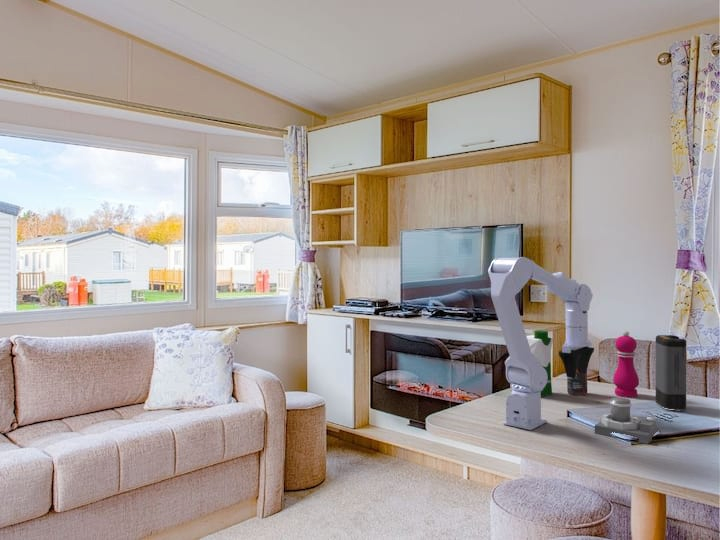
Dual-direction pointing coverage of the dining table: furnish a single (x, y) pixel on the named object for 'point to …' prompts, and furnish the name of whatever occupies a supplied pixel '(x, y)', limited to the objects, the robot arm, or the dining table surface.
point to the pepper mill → (626, 367)
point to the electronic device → (671, 372)
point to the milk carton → (542, 354)
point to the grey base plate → (629, 427)
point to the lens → (620, 410)
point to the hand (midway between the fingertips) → (576, 375)
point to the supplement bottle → (577, 384)
